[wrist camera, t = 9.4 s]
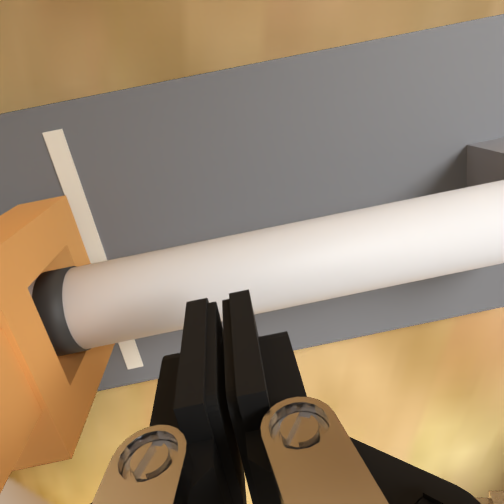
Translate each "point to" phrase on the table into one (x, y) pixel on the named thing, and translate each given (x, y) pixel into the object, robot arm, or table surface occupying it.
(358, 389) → the table surface
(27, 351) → the collar
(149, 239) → the pipe rig
